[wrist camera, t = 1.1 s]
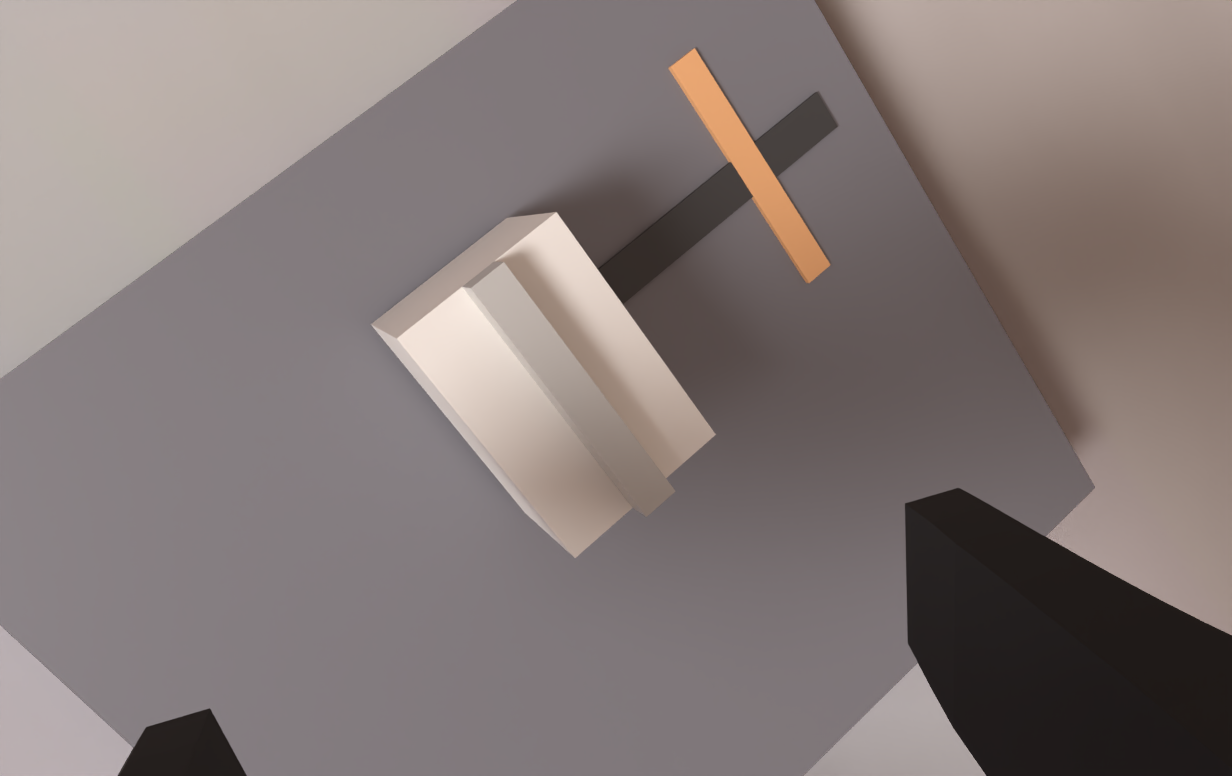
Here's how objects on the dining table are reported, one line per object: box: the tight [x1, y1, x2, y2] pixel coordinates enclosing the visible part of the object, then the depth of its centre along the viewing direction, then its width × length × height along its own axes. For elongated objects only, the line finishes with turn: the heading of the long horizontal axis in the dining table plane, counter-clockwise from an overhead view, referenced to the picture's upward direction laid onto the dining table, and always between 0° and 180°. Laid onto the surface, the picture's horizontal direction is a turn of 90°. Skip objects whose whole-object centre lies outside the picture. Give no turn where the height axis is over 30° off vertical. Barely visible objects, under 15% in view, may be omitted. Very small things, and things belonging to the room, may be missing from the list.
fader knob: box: [371, 212, 716, 558], centre depth 17 cm, size 3×4×4 cm
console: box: [0, 0, 1095, 776], centre depth 21 cm, size 18×16×2 cm
